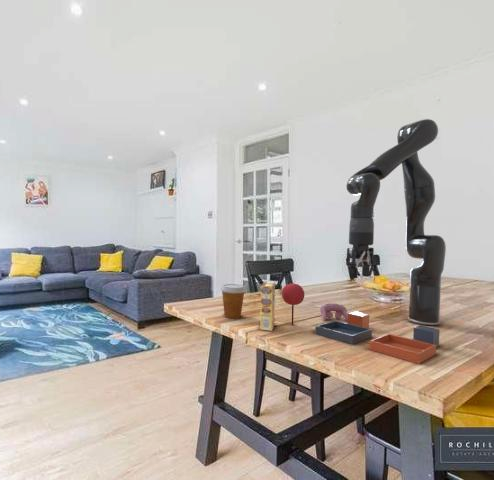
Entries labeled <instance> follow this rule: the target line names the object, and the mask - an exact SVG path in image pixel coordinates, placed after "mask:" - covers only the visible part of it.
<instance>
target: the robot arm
mask: <svg viewBox="0 0 494 480" xmlns="http://www.w3.org/2000/svg"><path fill="white" fill-rule="evenodd" d="M438 127H439V126H438V125H437V123H436V122H435V121H434V120H433V119H430V118H426V119H420V120H416V121H414V122H410V123H407V124H405V125H402V126H401V127H400V128H399V129H398V131H397V144H396V145H394V146H392V147H391V148H389V149H387V150H385V151H383V152H382V153H381V154H380V155H378V156H377V157H376V158H375V159H374V160H373V161H372V162H370V163H369V165H367V166H365V167H363V168H361V169H360V170H358V171H357V172H355V173H354V174H352V176H350V177H349V178H348V180H347V182H346V185H345V186H346V191H347V192H348V193H349V194H350V195H353V196H359V199H357V200H356V201H354V202H352V203H351V204H350V219H349V225H348V226H349V227H348V230H349V231H348V244H349V245H350V246H352V247H348V248H346V266H348V267H349V278H350V279H357V278H358V274H359V273H358V270H359V269H358V268H359V267H358V266H359V265H360V263H361V264H362V266H361V276H362V277H366V278H369V277H370V272H371V271H370V270H371V268H370V267H371V266H372V265H374V263H375V261H374V258H375V257H374V253H375V252H374V247H369V246H373V245H374V238H375V237H374V235H375V222H374V211H375V209H374V208H375V204H376V202H377V199H378V196H379V193H380V189H381V181H382V180H385V178H387V177H388V176H389V175H390V174H391V173H392V172H393V171H395V169H397V168H398V167H399V166H400V165H401V168H402V175H403V178H402V179H403V193H404V202H405V203H404V204H405V216H406V217H405V218H406V219H405V220H406V227H405V228H406V229H405V230H406V232H405V248H406V252H407V254H408V255H409V257H411V258H412V259H419V260H422V263H421V265H419V266H417V267H414V268H411V270H410V276H409V277H410V278H409V280H410V281H409V301H408V303H409V304H408V317H407V318H408V319H407V320H408V321H409V322H411V323H414V324H417V325H421V326H430V327H431V326H432V327H433V326H434V327H435V326H439V325H440V312H441V308H440V307H441V289H442V288H441V287H442V274H443V272H444V268H445V259H446V251H447V249H446V248H447V247H446V246H447V245H446V241H445V240H444V238H443V237H442V236H440V235H437V234H425V221H426V218H427V216H428V214H429V213H430V212H431V209H432V207H433V205H434V203H435V201H436V188H435V186H436V185H435V180H434V178H433V176H432V175H431V173H429V172H428V170H426V168H425V167H424V166H423V164H422V163H421V161H420V158H419V153H418V152H419V151H420V150H422V149H423V148H425V147H427V146H429V145H431V144H432V143H433V142H434V141H435V140H436V139H437V137H438V134H439V128H438Z"/></svg>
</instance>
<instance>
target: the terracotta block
mask: <svg viewBox="0 0 494 480" xmlns="http://www.w3.org/2000/svg"><path fill="white" fill-rule="evenodd" d="M347 323H348V324H352V325H356V326H360V327H364V328H368V329H370V314H368V313H364V312H359V311H352V312H348V321H347Z"/></svg>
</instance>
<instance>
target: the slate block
mask: <svg viewBox="0 0 494 480" xmlns="http://www.w3.org/2000/svg"><path fill="white" fill-rule="evenodd" d="M412 337H413V338H412V339H413V340H417V341H421V342H425V343H430V344H434V345H436V348H437V347H439V346H440V329H439V328H435V327H431V326H427V325H422V324H419V325H417V326H415V327H413V336H412Z"/></svg>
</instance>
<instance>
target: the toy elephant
mask: <svg viewBox="0 0 494 480" xmlns="http://www.w3.org/2000/svg"><path fill="white" fill-rule="evenodd" d="M319 310H320V314H321V317H322V319H323V320H324V321H326V320H327V319H332V318H335V319H336V320H340V319H341V318H342V316H343V318H344V319H345V320H346V321H347V322H348V313H349V312H348V310H347V308H346V307H345V306H344V305H343V304H338V303H334V302H333V303H331V302H330V303H325V304H323V305H321V306H320V308H319ZM333 312H335V313H333Z"/></svg>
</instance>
